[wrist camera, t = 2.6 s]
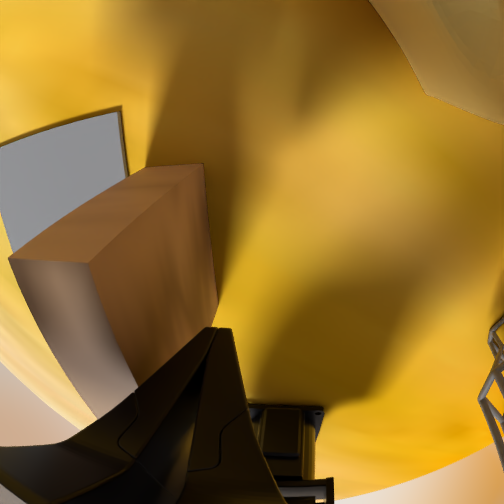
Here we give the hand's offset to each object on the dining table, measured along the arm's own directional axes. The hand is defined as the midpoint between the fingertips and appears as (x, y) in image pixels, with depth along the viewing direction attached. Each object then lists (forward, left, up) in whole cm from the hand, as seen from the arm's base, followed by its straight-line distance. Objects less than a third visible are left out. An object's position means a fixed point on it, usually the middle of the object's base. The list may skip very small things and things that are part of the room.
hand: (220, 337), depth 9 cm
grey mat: (0, +12, -6) cm, 14 cm away
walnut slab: (0, +3, -7) cm, 7 cm away
